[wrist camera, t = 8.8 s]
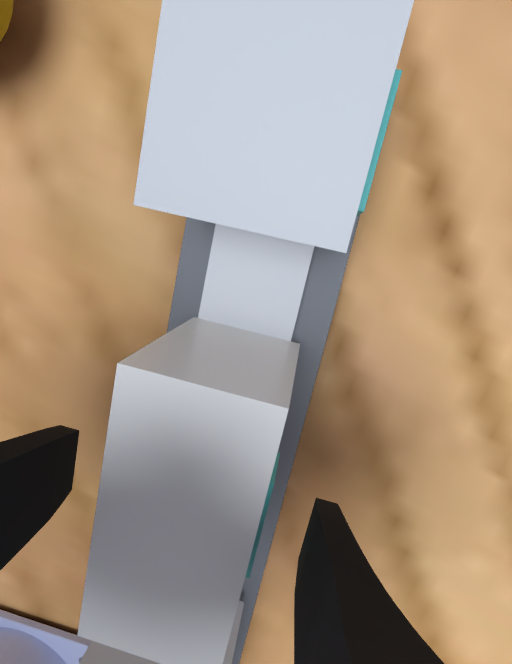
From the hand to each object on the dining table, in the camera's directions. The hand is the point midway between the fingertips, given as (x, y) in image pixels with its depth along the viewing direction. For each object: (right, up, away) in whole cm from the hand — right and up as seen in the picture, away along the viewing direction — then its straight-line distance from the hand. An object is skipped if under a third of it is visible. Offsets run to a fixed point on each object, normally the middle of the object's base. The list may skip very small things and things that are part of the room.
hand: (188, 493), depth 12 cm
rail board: (+1, +1, +6) cm, 6 cm away
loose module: (+1, +1, +4) cm, 4 cm away
